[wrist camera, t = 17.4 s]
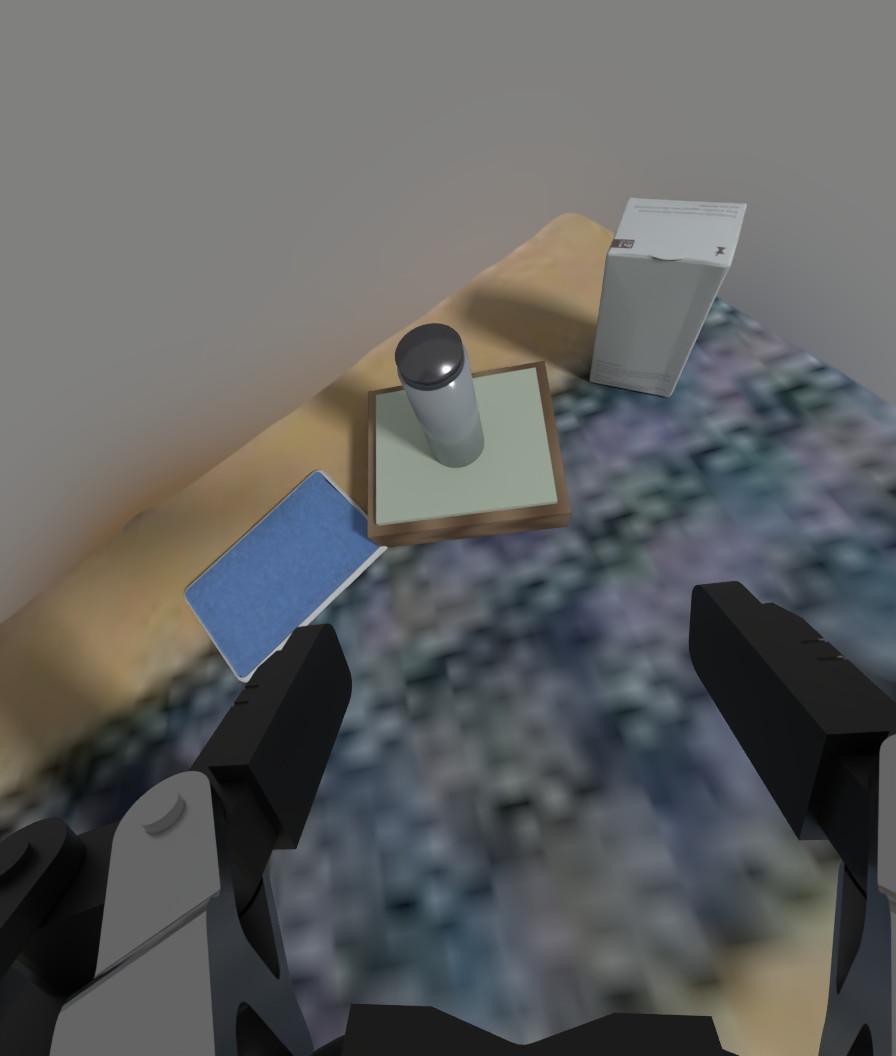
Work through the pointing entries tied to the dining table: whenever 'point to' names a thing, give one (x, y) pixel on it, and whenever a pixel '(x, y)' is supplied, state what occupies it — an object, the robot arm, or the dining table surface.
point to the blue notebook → (282, 573)
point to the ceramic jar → (441, 393)
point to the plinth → (474, 490)
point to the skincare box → (660, 289)
